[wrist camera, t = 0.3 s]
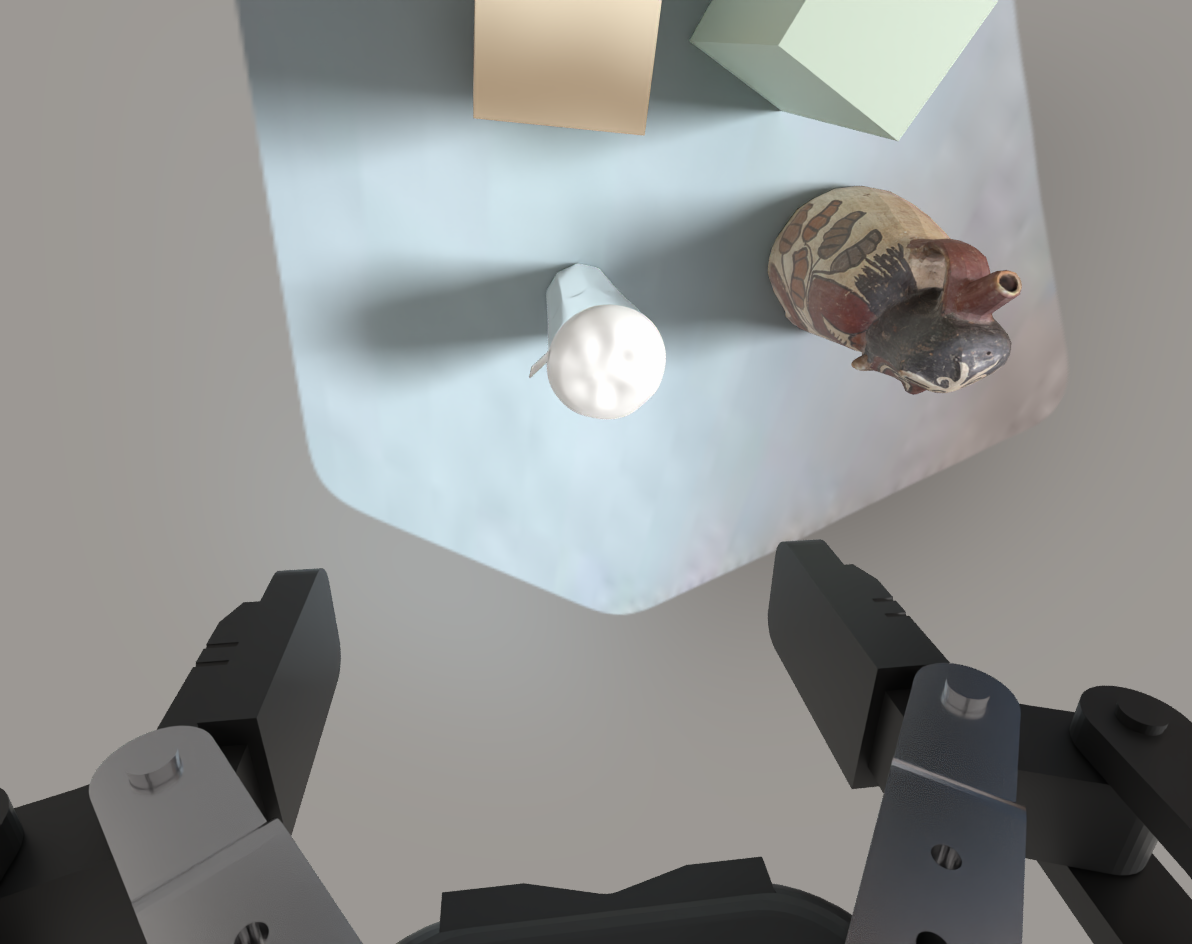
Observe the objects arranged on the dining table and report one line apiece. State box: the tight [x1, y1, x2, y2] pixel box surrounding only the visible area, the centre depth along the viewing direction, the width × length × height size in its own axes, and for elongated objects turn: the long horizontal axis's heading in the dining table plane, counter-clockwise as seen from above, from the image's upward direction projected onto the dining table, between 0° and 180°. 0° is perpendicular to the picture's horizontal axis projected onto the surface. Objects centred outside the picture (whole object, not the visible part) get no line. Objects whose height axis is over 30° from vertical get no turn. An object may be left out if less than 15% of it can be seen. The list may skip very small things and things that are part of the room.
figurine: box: [768, 186, 1022, 394], centre depth 30 cm, size 7×7×12 cm
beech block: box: [473, 0, 662, 135], centre depth 24 cm, size 5×5×10 cm
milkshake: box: [529, 263, 666, 419], centre depth 29 cm, size 4×5×10 cm
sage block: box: [689, 0, 998, 141], centre depth 25 cm, size 5×5×10 cm
